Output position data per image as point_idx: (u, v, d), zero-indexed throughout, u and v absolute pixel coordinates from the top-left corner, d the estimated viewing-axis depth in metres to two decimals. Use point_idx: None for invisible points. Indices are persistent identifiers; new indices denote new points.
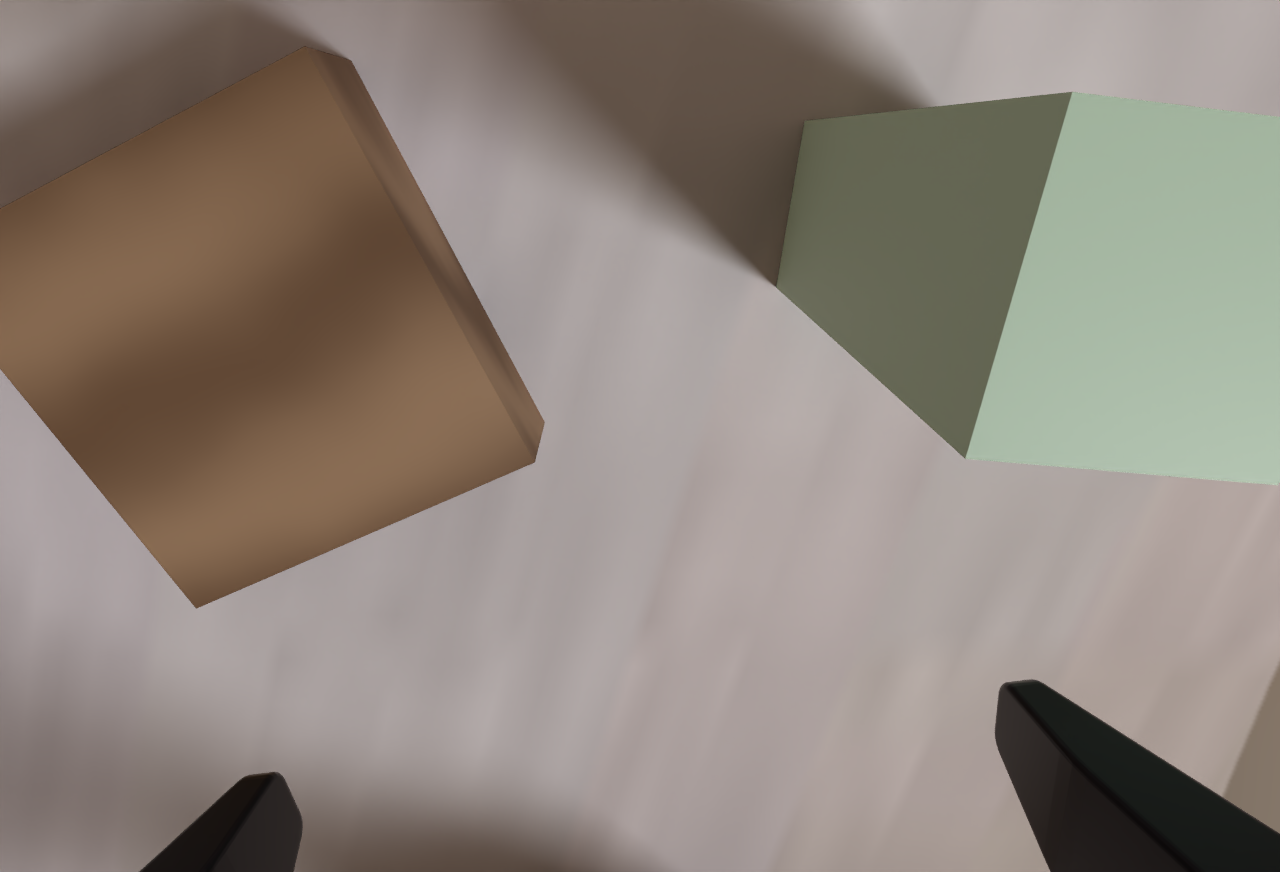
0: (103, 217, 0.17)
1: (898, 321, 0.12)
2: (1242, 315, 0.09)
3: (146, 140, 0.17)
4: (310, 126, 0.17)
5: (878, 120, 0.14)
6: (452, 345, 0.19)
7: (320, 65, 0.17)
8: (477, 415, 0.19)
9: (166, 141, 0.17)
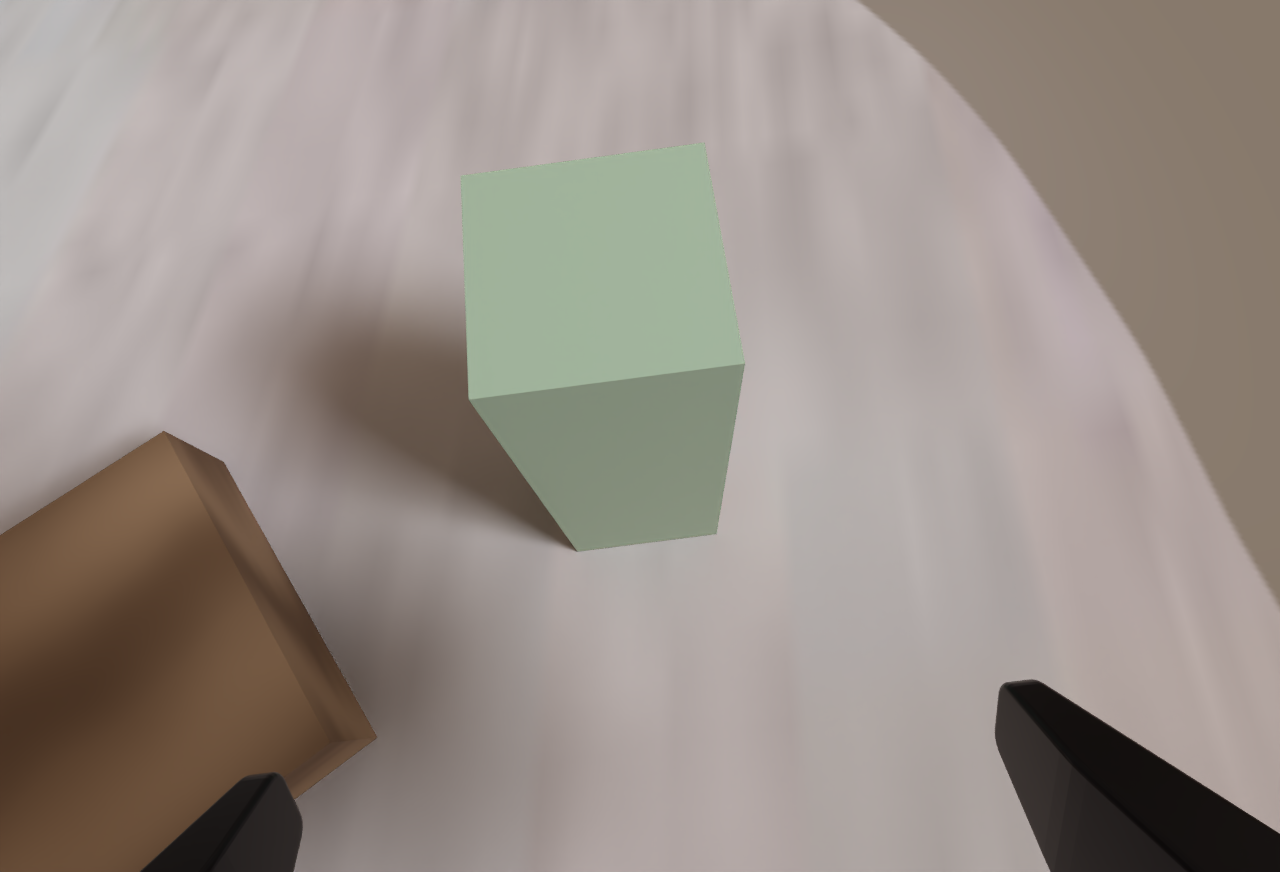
0: None
1: None
2: (637, 258, 0.13)
3: (34, 518, 0.22)
4: (159, 481, 0.22)
5: None
6: (254, 633, 0.20)
7: (176, 443, 0.23)
8: (274, 700, 0.20)
9: (49, 516, 0.22)
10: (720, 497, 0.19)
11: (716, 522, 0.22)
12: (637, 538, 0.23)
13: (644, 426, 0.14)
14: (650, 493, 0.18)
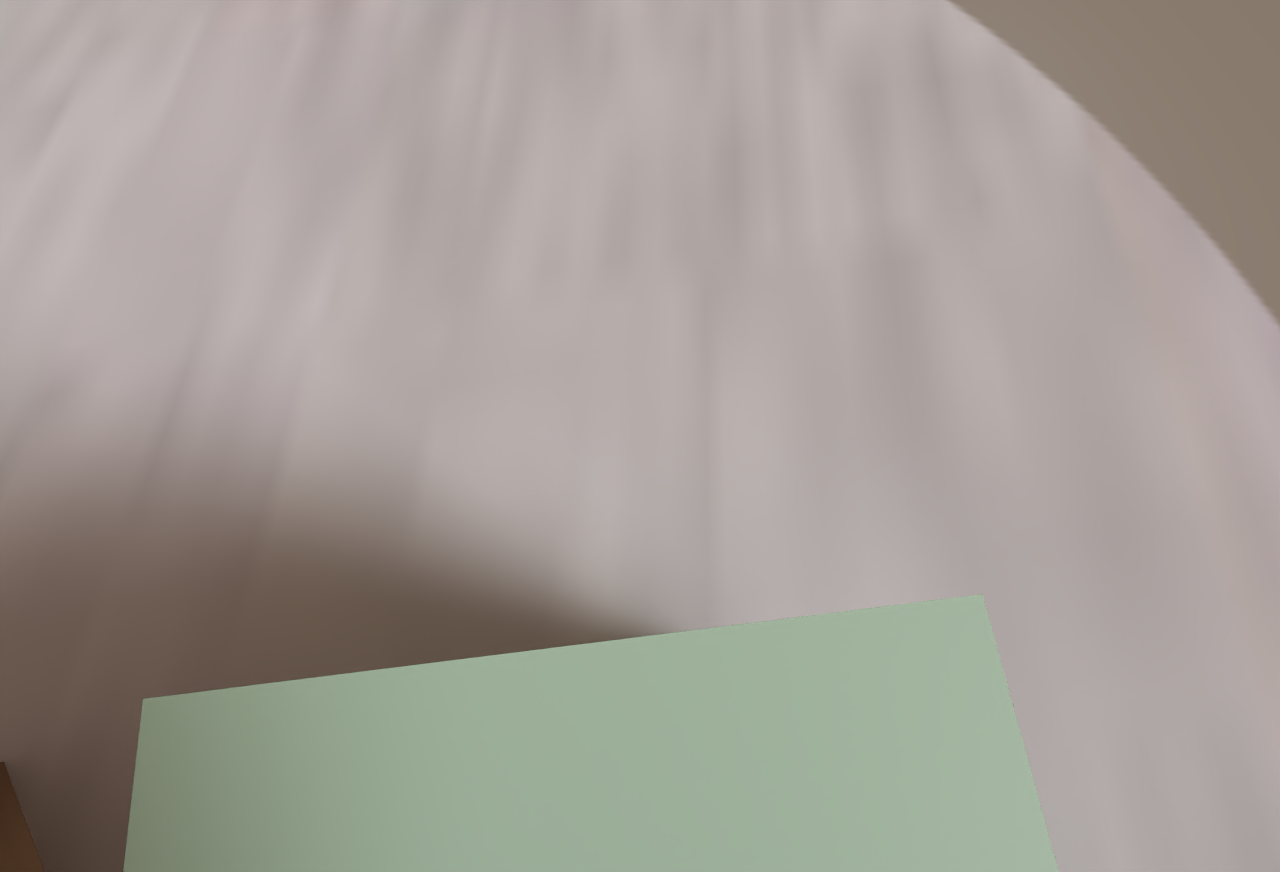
0: None
1: None
2: None
3: None
4: None
5: None
6: None
7: None
8: None
9: None
10: None
11: None
12: None
13: None
14: None
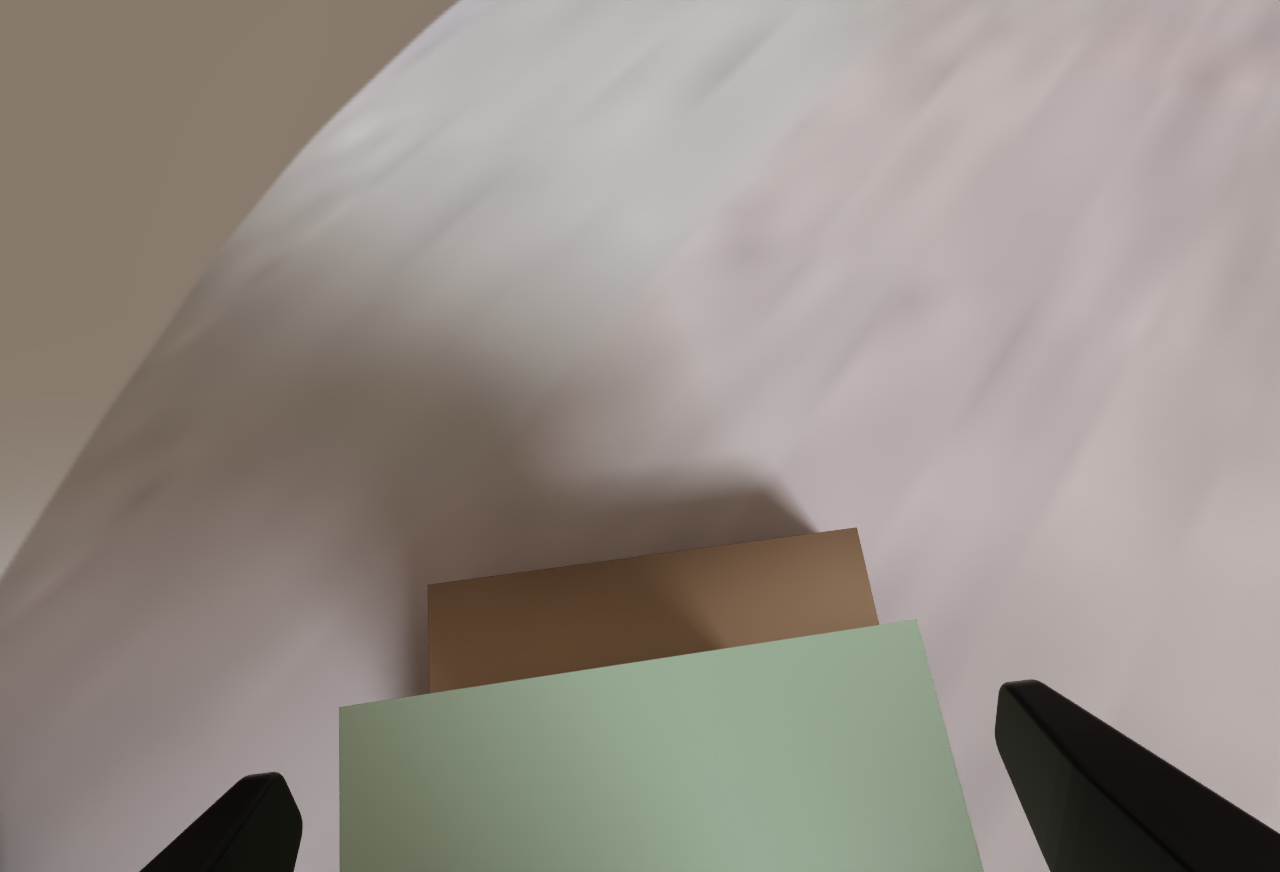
0: (614, 605, 0.18)
1: None
2: None
3: (688, 556, 0.19)
4: (838, 587, 0.18)
5: None
6: None
7: None
8: None
9: (704, 562, 0.18)
10: None
11: None
12: None
13: None
14: None
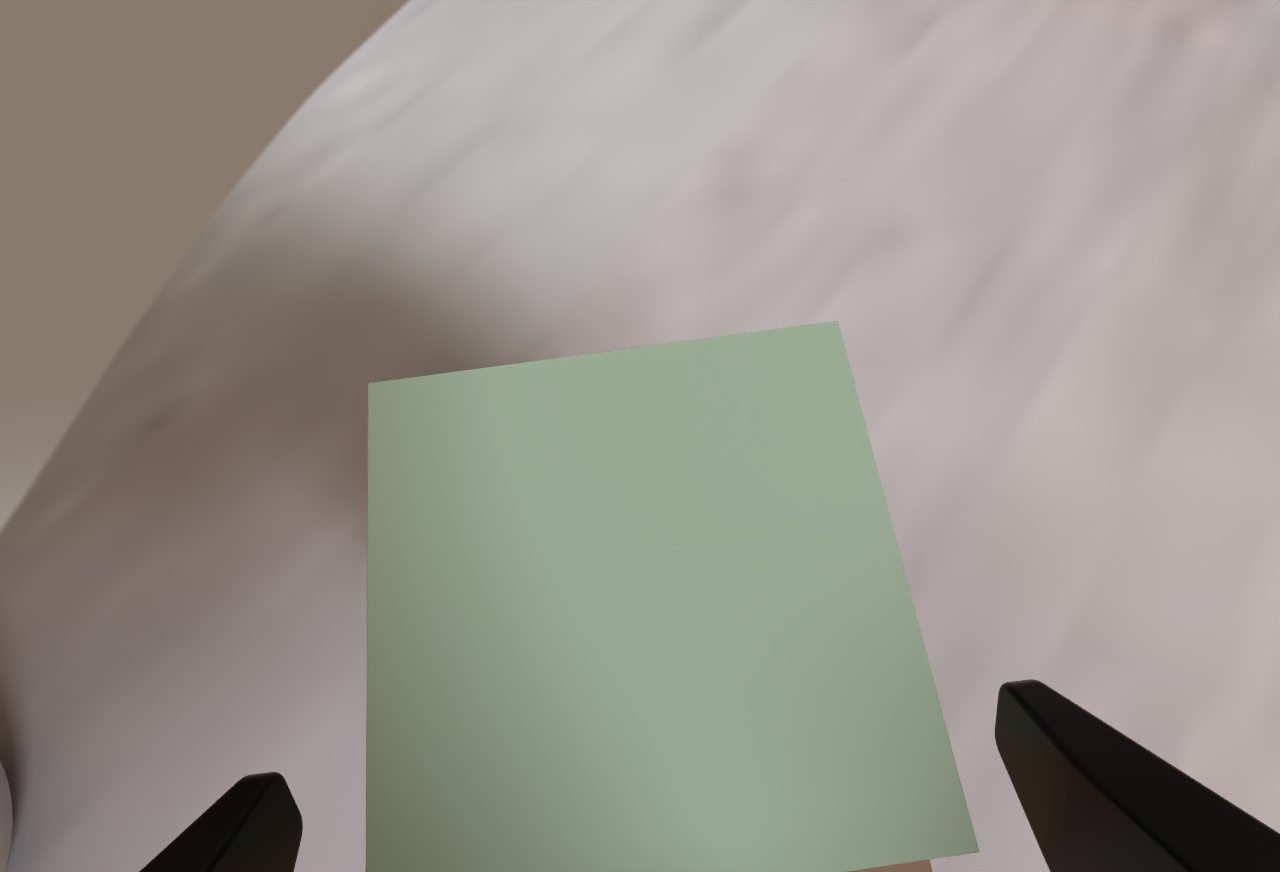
0: None
1: None
2: (724, 575, 0.06)
3: None
4: None
5: None
6: None
7: None
8: None
9: None
10: None
11: None
12: None
13: None
14: None
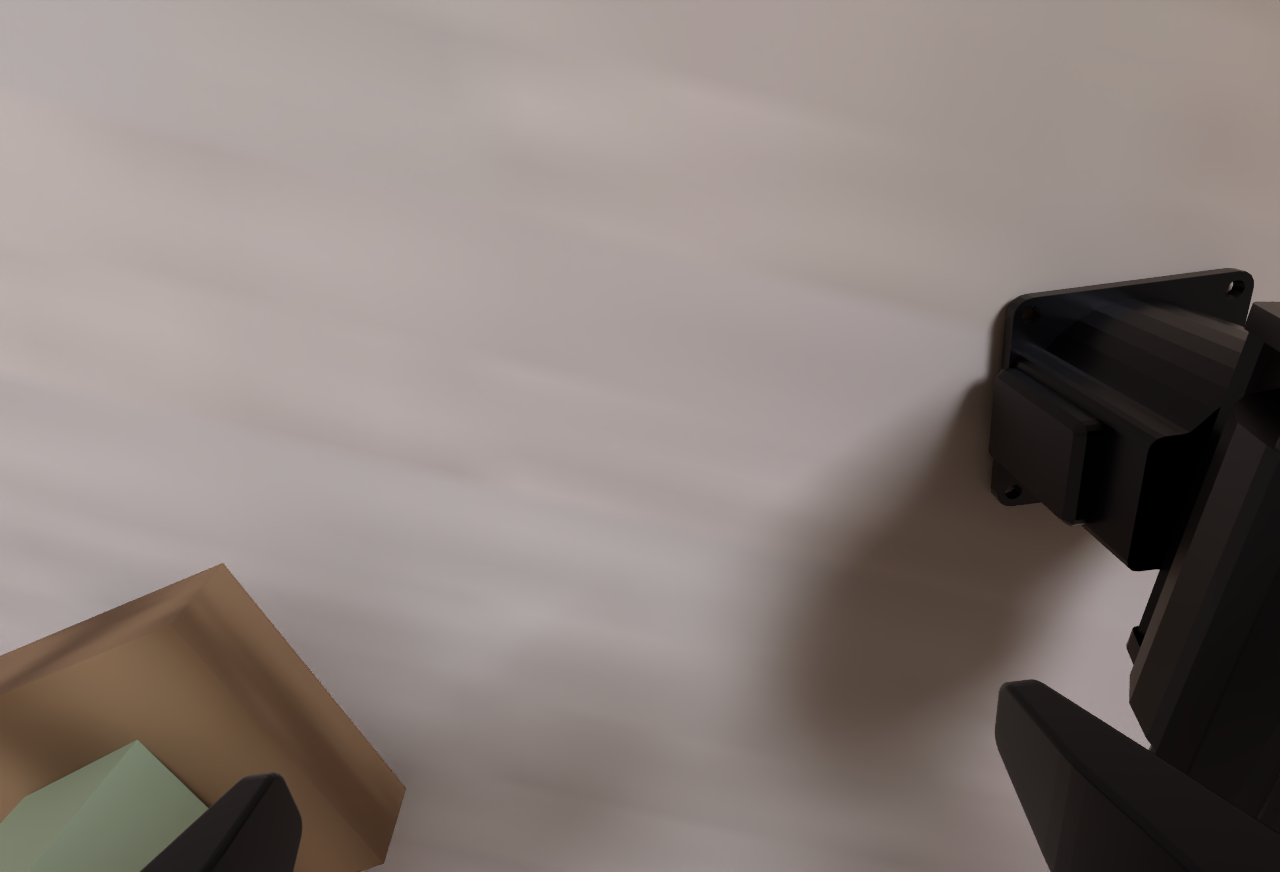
0: None
1: None
2: None
3: None
4: None
5: None
6: (70, 679, 0.21)
7: None
8: (133, 665, 0.21)
9: None
10: None
11: (103, 783, 0.20)
12: (179, 816, 0.22)
13: None
14: None
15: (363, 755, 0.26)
